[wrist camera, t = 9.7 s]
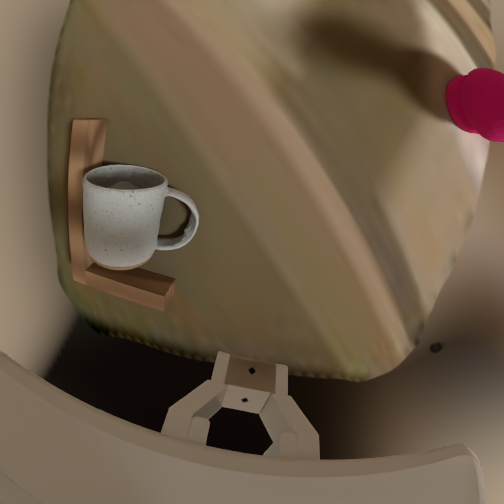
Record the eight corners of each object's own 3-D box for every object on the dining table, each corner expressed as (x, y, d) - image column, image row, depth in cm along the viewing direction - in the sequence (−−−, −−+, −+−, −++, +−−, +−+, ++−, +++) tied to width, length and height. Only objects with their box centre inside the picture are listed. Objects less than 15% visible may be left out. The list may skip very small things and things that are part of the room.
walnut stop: (93, 118, 22) (73, 119, 19) (198, 130, 23) (186, 130, 20) (88, 266, 30) (73, 280, 27) (173, 293, 31) (163, 311, 27)
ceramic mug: (107, 232, 28) (69, 264, 21) (112, 160, 24) (66, 176, 17) (194, 255, 28) (172, 297, 22) (209, 179, 25) (185, 201, 18)
